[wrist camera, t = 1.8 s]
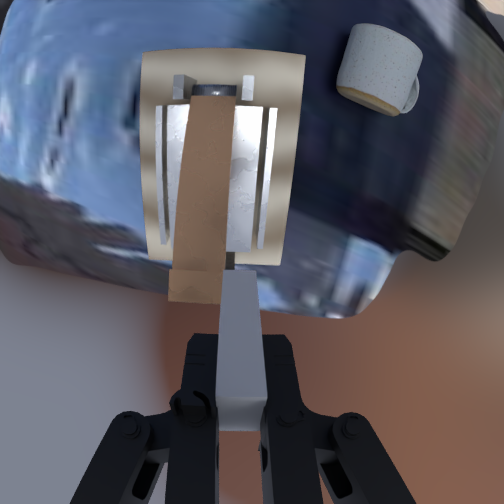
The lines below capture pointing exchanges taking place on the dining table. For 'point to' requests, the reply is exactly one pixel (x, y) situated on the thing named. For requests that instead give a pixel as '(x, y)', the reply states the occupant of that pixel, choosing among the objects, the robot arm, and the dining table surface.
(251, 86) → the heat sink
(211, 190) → the strap
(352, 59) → the ceramic mug
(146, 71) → the board
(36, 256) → the dining table surface
